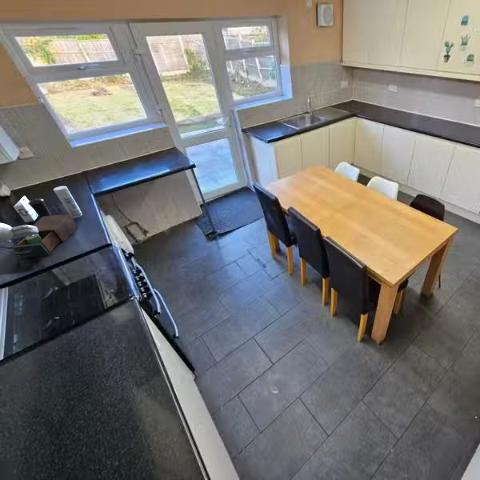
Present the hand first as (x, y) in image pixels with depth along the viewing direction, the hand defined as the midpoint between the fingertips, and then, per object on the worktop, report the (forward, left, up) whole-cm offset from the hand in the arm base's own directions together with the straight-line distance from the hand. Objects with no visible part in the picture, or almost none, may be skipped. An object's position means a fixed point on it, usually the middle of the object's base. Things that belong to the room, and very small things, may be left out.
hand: (20, 237), depth 138 cm
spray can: (-3, +44, -15) cm, 47 cm away
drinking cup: (-19, +42, -15) cm, 49 cm away
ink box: (-31, +46, -15) cm, 57 cm away
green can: (-3, +8, -13) cm, 16 cm away
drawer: (-3, +7, -14) cm, 16 cm away
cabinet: (-3, +22, -15) cm, 27 cm away
